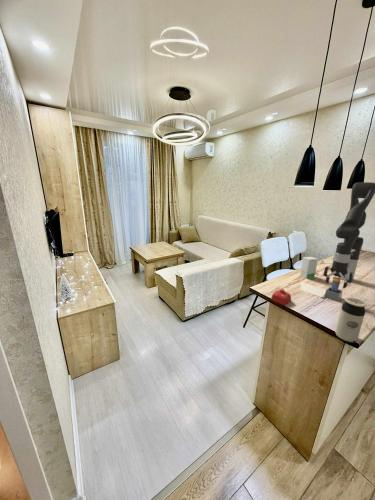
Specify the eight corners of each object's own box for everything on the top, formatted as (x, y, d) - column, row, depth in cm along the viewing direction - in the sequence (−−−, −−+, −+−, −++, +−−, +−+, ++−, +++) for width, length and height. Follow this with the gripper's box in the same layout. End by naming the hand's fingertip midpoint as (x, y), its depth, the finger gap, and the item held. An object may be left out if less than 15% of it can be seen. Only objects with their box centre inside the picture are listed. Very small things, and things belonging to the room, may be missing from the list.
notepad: (301, 283, 149) (301, 282, 149) (330, 292, 136) (331, 291, 136) (293, 289, 140) (293, 287, 140) (323, 299, 127) (323, 297, 127)
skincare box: (305, 279, 156) (309, 259, 151) (299, 276, 162) (302, 257, 158) (314, 278, 158) (318, 258, 154) (307, 275, 164) (311, 256, 160)
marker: (330, 294, 132) (334, 276, 128) (337, 297, 129) (341, 278, 125) (328, 296, 129) (332, 278, 126) (335, 299, 127) (339, 280, 123)
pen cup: (328, 293, 134) (329, 286, 133) (340, 298, 129) (342, 290, 128) (324, 297, 130) (325, 290, 128) (337, 301, 125) (339, 294, 123)
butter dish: (285, 310, 115) (287, 296, 113) (266, 301, 124) (268, 288, 121) (294, 303, 123) (296, 290, 120) (275, 295, 131) (277, 283, 129)
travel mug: (336, 328, 100) (344, 294, 95) (357, 335, 95) (367, 300, 90) (334, 337, 94) (343, 301, 89) (356, 345, 89) (367, 308, 84)
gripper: (357, 262, 120) (351, 287, 124) (329, 256, 130) (324, 280, 135) (354, 265, 115) (347, 291, 120) (325, 258, 125) (320, 283, 130)
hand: (335, 285), depth 127 cm, fingers open, 8 cm apart
